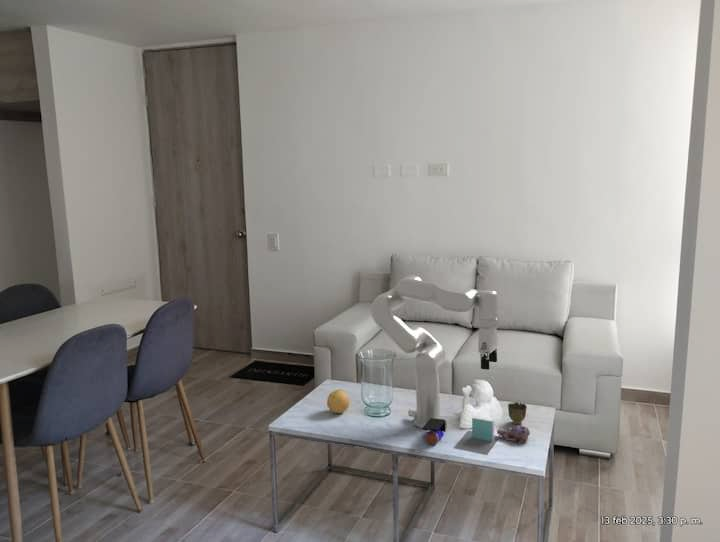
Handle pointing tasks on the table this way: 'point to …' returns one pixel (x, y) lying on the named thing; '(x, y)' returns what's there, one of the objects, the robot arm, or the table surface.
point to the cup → (517, 412)
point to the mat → (475, 444)
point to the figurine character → (434, 430)
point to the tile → (483, 428)
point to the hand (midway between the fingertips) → (489, 365)
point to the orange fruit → (338, 401)
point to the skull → (515, 434)
